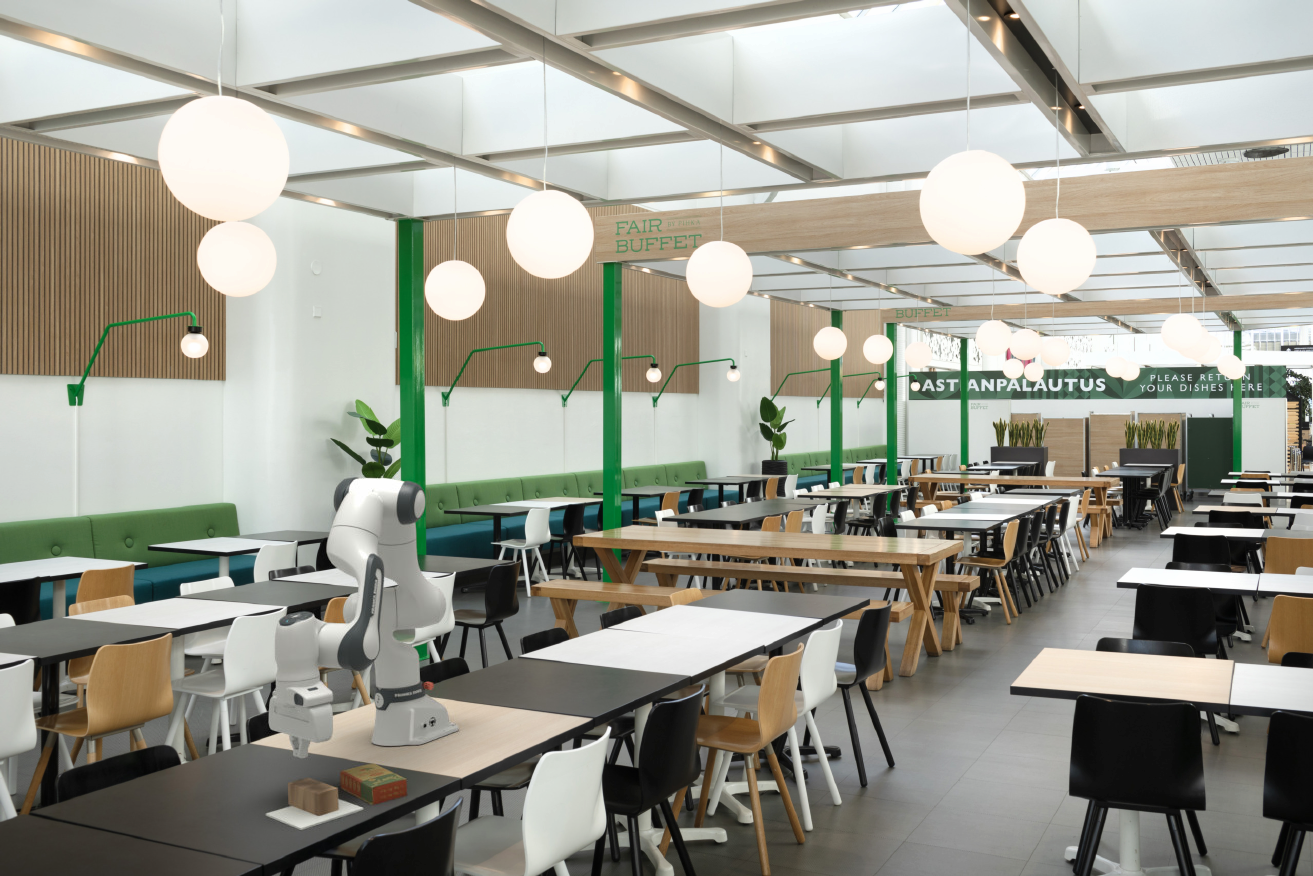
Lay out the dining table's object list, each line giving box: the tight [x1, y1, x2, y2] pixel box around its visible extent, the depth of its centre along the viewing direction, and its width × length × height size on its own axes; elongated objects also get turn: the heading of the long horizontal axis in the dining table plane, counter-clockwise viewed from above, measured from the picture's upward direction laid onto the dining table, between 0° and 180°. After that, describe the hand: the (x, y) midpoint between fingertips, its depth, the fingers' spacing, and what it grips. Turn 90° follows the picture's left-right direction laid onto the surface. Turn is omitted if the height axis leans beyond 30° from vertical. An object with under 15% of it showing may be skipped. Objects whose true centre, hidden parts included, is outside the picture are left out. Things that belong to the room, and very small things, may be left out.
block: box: [287, 777, 339, 816], centre depth 216 cm, size 4×4×12 cm
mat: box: [265, 798, 365, 831], centre depth 213 cm, size 14×14×1 cm
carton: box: [339, 763, 408, 806], centre depth 225 cm, size 8×16×4 cm, turn 41°
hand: (300, 756), depth 218 cm, fingers closed
